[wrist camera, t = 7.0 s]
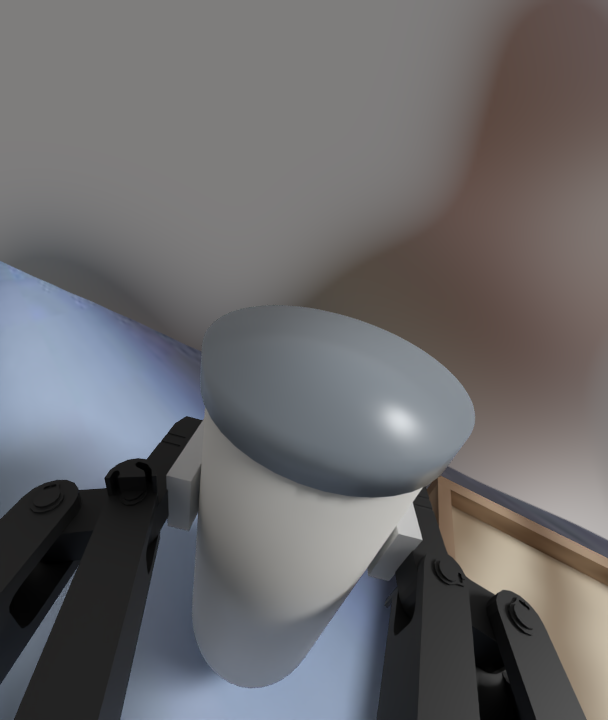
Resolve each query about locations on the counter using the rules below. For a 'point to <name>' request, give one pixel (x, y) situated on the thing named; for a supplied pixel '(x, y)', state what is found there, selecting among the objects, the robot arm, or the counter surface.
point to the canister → (305, 474)
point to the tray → (535, 580)
